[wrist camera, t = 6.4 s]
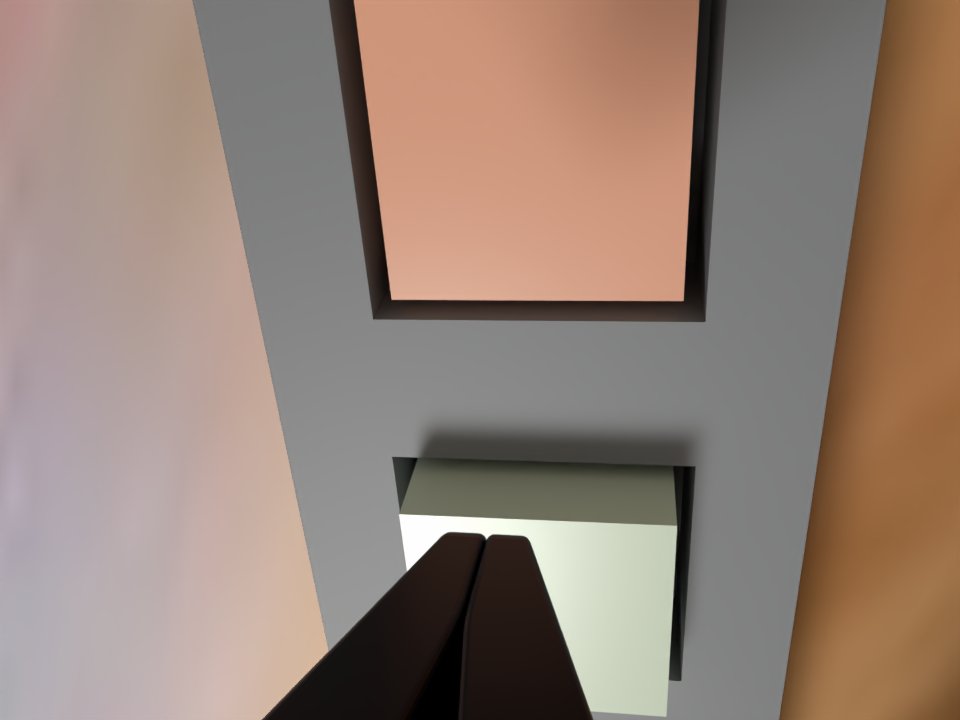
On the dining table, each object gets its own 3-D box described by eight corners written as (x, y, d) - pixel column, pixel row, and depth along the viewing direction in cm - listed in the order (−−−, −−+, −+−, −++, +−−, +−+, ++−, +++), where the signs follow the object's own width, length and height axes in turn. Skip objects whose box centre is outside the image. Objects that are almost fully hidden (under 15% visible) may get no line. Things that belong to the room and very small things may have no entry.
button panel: (847, -144, 12) (907, -136, 9) (732, 806, 22) (746, 936, 19) (262, -105, 13) (174, -89, 10) (407, 777, 23) (380, 896, 20)
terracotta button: (691, -42, 12) (700, -22, 10) (677, 247, 14) (684, 300, 12) (388, -25, 12) (353, -4, 11) (417, 248, 14) (391, 299, 13)
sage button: (671, 451, 14) (677, 525, 13) (663, 632, 16) (666, 716, 15) (423, 443, 15) (398, 514, 13) (443, 619, 17) (424, 699, 15)
